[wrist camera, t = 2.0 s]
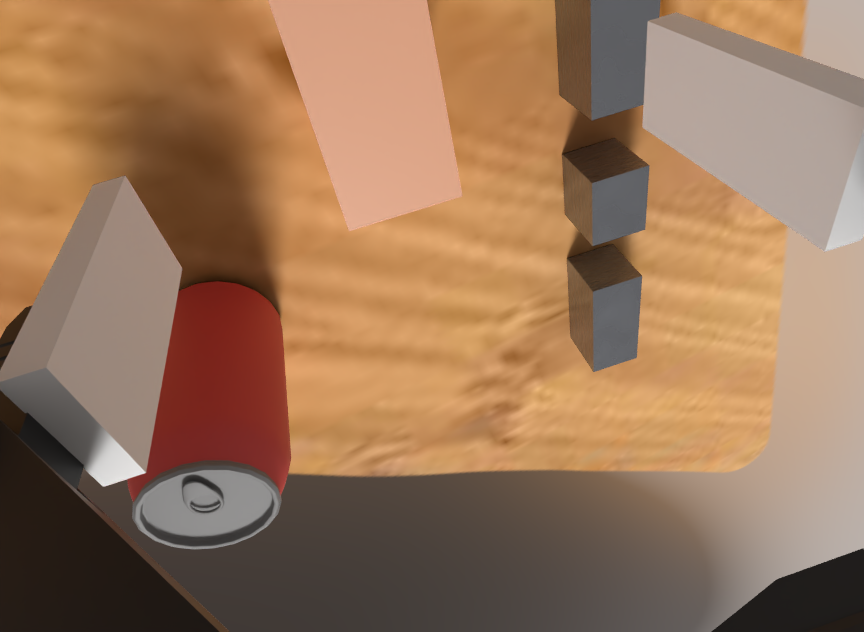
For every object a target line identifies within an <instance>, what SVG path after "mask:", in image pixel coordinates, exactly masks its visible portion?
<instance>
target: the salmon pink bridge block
mask: <svg viewBox="0 0 864 632" xmlns="http://www.w3.org/2000/svg"><path fill="white" fill-rule="evenodd" d="M268 2H269V5H270V7H271V10H272V13H273V16H274V19H275V22H276V25H277V27H278V30H279V33H280V36H281V39H282V42H283V44H284V47H285V50H286V53H287V56H288V59H289V62H290V64H291V67H292V70H293V73H294V76H295V79H296V81H297V84H298V87H299V90H300V93H301V96H302V98H303V101H304V104H305V107H306V110H307V113H308V116H309V118H310V121H311V124H312V127H313V130H314V133H315V135H316V138H317V141H318V144H319V147H320V150H321V152H322V155H323V158H324V161H325V164H326V167H327V170H328V172H329V175H330V178H331V181H332V184H333V187H334V189H335V192H336V195H337V198H338V201H339V204H340V207H341V209H342V212H343V215H344V218H345V221H346V224H347V226H348V229H349V231H351V230H355V229H358V228H361V227H364V226H368V225H371V224H374V223H377V222H381V221H384V220H387V219H390V218H394V217H397V216H400V215H403V214H407V213H410V212H413V211H416V210H420V209H423V208H426V207H429V206H432V205H436V204H439V203H442V202H445V201H449V200H452V199H455V198H458V197H462V191H461V185H460V180H459V174H458V169H457V163H456V158H455V152H454V147H453V141H452V136H451V131H450V125H449V120H448V114H447V109H446V103H445V98H444V92H443V87H442V81H441V76H440V70H439V65H438V59H437V54H436V48H435V43H434V37H433V32H432V26H431V21H430V16H429V10H428V5H427V0H268Z"/></svg>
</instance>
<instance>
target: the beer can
mask: <svg viewBox="0 0 864 632" xmlns="http://www.w3.org/2000/svg"><path fill="white" fill-rule="evenodd" d="M290 461H291V450H290V435H289V420H288V406H287V391H286V376H285V362H284V347H283V332H282V326H281V321H280V316H279V314H278V313H277V311H276V310H275V308H274V307H273V305H272V304H271V302H270V301H269V300H267V299H266V298H265V297H263V296H262V295H261V294H259V293H258V292H257V291H255V290H253V289H250V288H248V287H245V286H243V285H240V284H237V283H229V282H221V281H214V282H206V283H198V284H195V285H192V286H190V287H187V288H185V289H182V290H180V291H178V296H177V302H176V307H175V313H174V318H173V324H172V330H171V335H170V341H169V347H168V352H167V358H166V363H165V369H164V375H163V380H162V386H161V391H160V397H159V403H158V408H157V414H156V420H155V425H154V431H153V436H152V442H151V448H150V453H149V459H148V464H147V470H146V473H144V474H141V475H138V476H135V477H132V478H129V479H127V480H128V488H129V491H130V494H131V497H132V500H133V515H132V516H133V517H132V518H133V520H134V522H135V523H136V525H137V527H138V528H139V530H140V531H141V532H143V533H144V534H146V535H147V536H149V537H150V538H151V539H153V540H154V541H157V542H160V543H163V544H166V545H169V546H172V547H178V548H187V549H207V548H217V547H222V546H226V545H231V544H235V543H237V542H240V541H242V540H245V539H247V538H250V537H252V536H254V535H255V534H257V533H258V532H259V531H261V530H263V529H264V528H265V527H267V526H268V525H269V524H270V522H272V520H273V519H274V518H275V517H276V515H277V514H278V512H279V508H280V504H281V493H282V490H283V488H284V486H285V482H286V478H287V475H288V471H289V466H290Z"/></svg>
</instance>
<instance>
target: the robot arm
mask: <svg viewBox="0 0 864 632" xmlns="http://www.w3.org/2000/svg"><path fill="white" fill-rule="evenodd" d="M643 128H644V129H646V130H647V131H649V132H650V133H652V134H653V135H654V136H656V137H657V138H659V139H660V140H662V141H663V142H665V143H666V144H668V145H669V146H671V147H672V148H674V149H675V150H676V151H678V152H679V153H681V154H682V155H684V156H685V157H687V158H688V159H690V160H691V161H693V162H694V163H696V164H697V165H698V166H700V167H701V168H703V169H704V170H706V171H707V172H709V173H710V174H712V175H713V176H715V177H716V178H718V179H719V180H720V181H722V182H723V183H725V184H726V185H728V186H729V187H731V188H732V189H734V190H735V191H737V192H738V193H740V194H741V195H742V196H744V197H745V198H747V199H748V200H750V201H751V202H753V203H754V204H756V205H757V206H759V207H760V208H762V209H763V210H764V211H766V212H767V213H769V214H770V215H772V216H773V217H775V218H776V219H778V220H779V221H781V222H782V223H784V224H785V225H786V226H788V227H789V228H791V229H792V230H794V231H795V232H797V233H798V234H800V235H801V236H803V237H804V238H806V239H807V240H808V241H810V242H811V243H813V244H814V245H816V246H817V247H819V248H820V249H822V250H823V251H828V250H832V249H835V248H838V247H841V246H844V245H847V244H850V243H853V242H856V241H859V240H862V238H863V235H864V79H862V78H860V77H857V76H854V75H851V74H848V73H846V72H842V71H840V70H837V69H834V68H831V67H828V66H826V65H823V64H820V63H817V62H814V61H812V60H809V59H806V58H803V57H800V56H798V55H795V54H792V53H789V52H786V51H784V50H781V49H778V48H775V47H772V46H769V45H767V44H764V43H761V42H758V41H755V40H752V39H750V38H747V37H744V36H741V35H738V34H736V33H733V32H730V31H727V30H724V29H721V28H719V27H716V26H713V25H710V24H707V23H705V22H702V21H699V20H696V19H693V18H690V17H688V16H685V15H682V14H679V13H673V14H670V15H666V16H663V17H660V18H656V19H653V20H649V21H648V24H647V45H646V66H645V87H644V108H643ZM181 274H182V267H181V265H180V264H179V262H178V260H177V259H176V257H175V255H174V254H173V252H172V251H171V249H170V247H169V246H168V244H167V242H166V241H165V239H164V238H163V236H162V234H161V233H160V231H159V229H158V228H157V226H156V225H155V223H154V221H153V220H152V218H151V216H150V215H149V213H148V211H147V210H146V208H145V207H144V205H143V203H142V202H141V200H140V198H139V197H138V195H137V194H136V192H135V190H134V189H133V187H132V185H131V184H130V182H129V180H128V179H127V177H126V176H122V177H118V178H115V179H111V180H108V181H105V182H101V183H98V184H94V185H93V186H92V188H91V190H90V192H89V194H88V196H87V198H86V200H85V202H84V204H83V206H82V208H81V210H80V212H79V214H78V216H77V218H76V220H75V222H74V224H73V226H72V228H71V230H70V232H69V234H68V236H67V238H66V240H65V242H64V244H63V246H62V248H61V250H60V252H59V254H58V256H57V258H56V260H55V262H54V264H53V266H52V268H51V270H50V272H49V274H48V276H47V278H46V280H45V282H44V284H43V286H42V288H41V290H40V292H39V294H38V296H37V298H36V300H35V302H34V304H33V305H32V306H29V307H26V308H25V309H24V310H23V311H22V312H21V313H20V314H19V315H18V316H17V317H16V318H15V319H14V320H13V321H12V322H11V323H10V324H9V325H8V326H7V327H6V329H5V331H4V333H3V335H2V337H1V338H0V632H230V631H228V629H226V628H225V627H224V626H223V625H222V624H221V623H220V622H219V621H218V620H217V619H216V618H215V617H214V616H213V615H212V614H211V613H209V612H208V611H207V610H206V609H205V608H204V607H203V606H202V605H201V604H200V603H199V602H198V601H197V600H196V599H195V598H194V597H193V596H192V595H191V594H189V593H188V592H187V591H186V590H185V589H184V588H183V587H182V586H181V585H180V584H179V583H178V582H177V581H176V580H175V579H174V578H173V577H172V576H170V575H169V574H168V573H167V572H166V571H165V570H164V569H163V568H162V567H161V566H160V565H159V564H158V563H157V562H156V561H155V560H154V559H152V558H151V557H150V556H149V555H148V554H147V553H146V552H145V551H144V550H143V549H142V548H141V547H140V546H139V545H138V544H137V543H136V542H135V541H134V540H132V539H131V538H130V537H129V536H128V535H127V534H126V533H125V532H124V531H123V530H122V529H121V528H120V527H119V526H118V525H117V524H116V523H115V522H113V521H112V520H111V519H110V518H109V517H108V516H107V515H106V514H105V513H104V512H103V511H102V510H101V509H100V508H99V507H98V506H97V505H95V504H94V503H93V502H92V501H91V500H90V499H89V498H88V497H87V496H86V495H85V494H84V493H82V492H81V491H80V490H79V489H78V485H79V481H80V478H81V474H82V471H83V468H84V469H85V470H86V471H87V472H88V473H89V474H90V475H91V476H92V477H93V478H95V479H96V480H97V481H98V482H99V483H100V484H101V485H102V486H107V485H110V484H113V483H116V482H119V481H122V480H126V479H129V478H132V477H135V476H138V475H141V474H144V473H146V470H147V464H148V459H149V453H150V448H151V442H152V436H153V431H154V425H155V420H156V414H157V408H158V403H159V397H160V391H161V386H162V380H163V375H164V369H165V363H166V358H167V352H168V347H169V341H170V335H171V330H172V324H173V318H174V313H175V307H176V302H177V296H178V290H179V285H180V279H181ZM712 632H864V549H860V550H857V551H855V552H852V553H849V554H846V555H843V556H841V557H838V558H836V559H832V560H829V561H827V562H824V563H821V564H818V565H816V566H813V567H810V568H807V569H804V570H802V571H799V572H796V573H794V574H791V575H788V576H785V577H782V578H779V579H777V580H775V581H774V582H773V583H772V584H770V585H769V586H768V587H767V588H766V589H764V590H763V591H762V592H760V593H759V594H758V595H757V596H756V597H754V598H753V599H752V600H751V601H749V602H748V603H747V604H746V605H744V606H743V607H742V608H741V609H739V610H738V611H737V612H736V613H734V614H733V615H732V616H731V617H729V618H728V619H727V620H726V621H724V622H723V623H722V624H721V625H720V626H718V627H717V628H716V629H714V630H713V631H712Z"/></svg>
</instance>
